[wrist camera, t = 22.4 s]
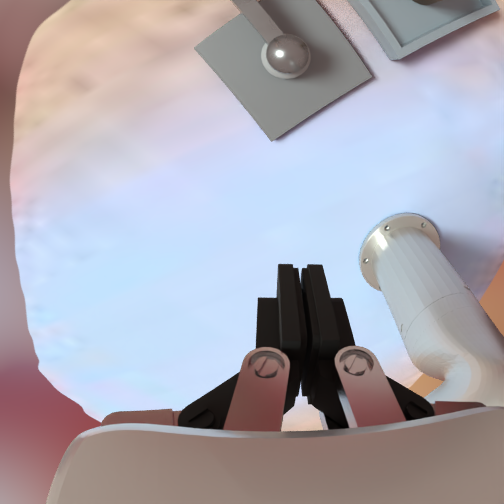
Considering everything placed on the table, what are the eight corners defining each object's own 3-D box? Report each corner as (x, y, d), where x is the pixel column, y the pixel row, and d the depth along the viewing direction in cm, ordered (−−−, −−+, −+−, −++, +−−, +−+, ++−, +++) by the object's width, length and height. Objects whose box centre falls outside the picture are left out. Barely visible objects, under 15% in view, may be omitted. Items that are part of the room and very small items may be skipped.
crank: (318, 59, 27) (327, 55, 23) (277, 83, 29) (279, 84, 25) (234, -42, 22) (228, -59, 17) (193, -17, 23) (182, -31, 19)
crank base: (369, 76, 31) (378, 77, 28) (271, 140, 35) (271, 145, 33) (296, -18, 25) (298, -26, 23) (195, 48, 30) (189, 46, 27)
